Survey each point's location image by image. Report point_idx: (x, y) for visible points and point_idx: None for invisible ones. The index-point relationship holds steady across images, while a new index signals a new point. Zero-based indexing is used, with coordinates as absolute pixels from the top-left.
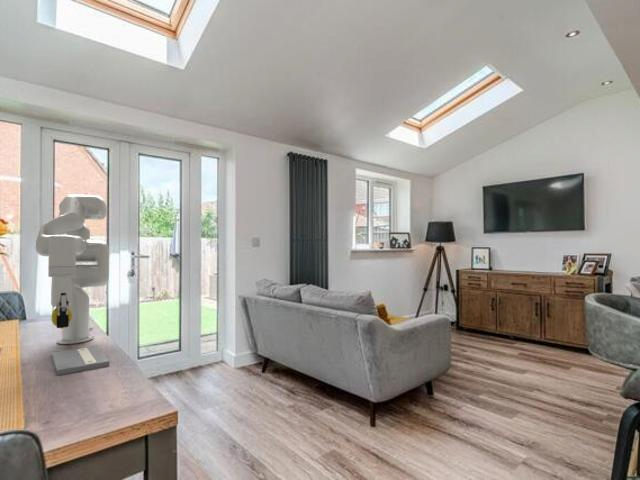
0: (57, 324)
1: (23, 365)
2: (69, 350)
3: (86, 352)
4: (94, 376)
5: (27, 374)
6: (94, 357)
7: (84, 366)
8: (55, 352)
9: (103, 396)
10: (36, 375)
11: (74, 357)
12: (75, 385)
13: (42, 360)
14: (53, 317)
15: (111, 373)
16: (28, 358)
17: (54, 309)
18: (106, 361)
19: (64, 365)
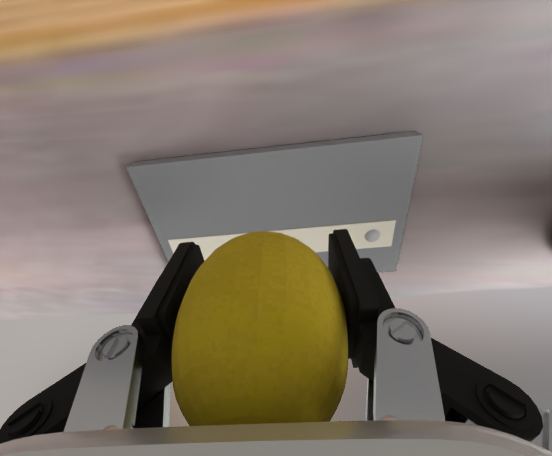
0: (172, 261)
1: (353, 16)
2: (401, 197)
3: (319, 244)
4: (93, 246)
5: (186, 55)
6: None
7: (157, 234)
8: (414, 149)
9: None
10: (157, 93)
11: (277, 212)
12: (20, 208)
13: (383, 97)
14: (203, 277)
15: (109, 277)
16: (481, 25)
17: (247, 363)
18: None
19: (180, 186)
